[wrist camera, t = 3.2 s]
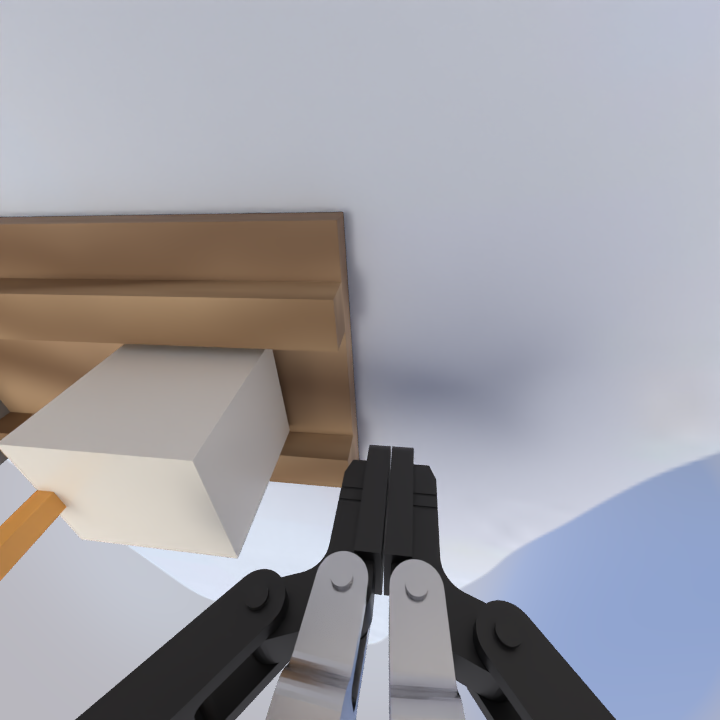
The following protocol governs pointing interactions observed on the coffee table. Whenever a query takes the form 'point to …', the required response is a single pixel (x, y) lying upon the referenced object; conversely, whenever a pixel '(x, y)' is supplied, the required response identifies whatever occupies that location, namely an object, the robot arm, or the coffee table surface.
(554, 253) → the coffee table surface
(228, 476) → the white cube with stick
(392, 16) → the coffee table surface
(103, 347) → the gauge board
